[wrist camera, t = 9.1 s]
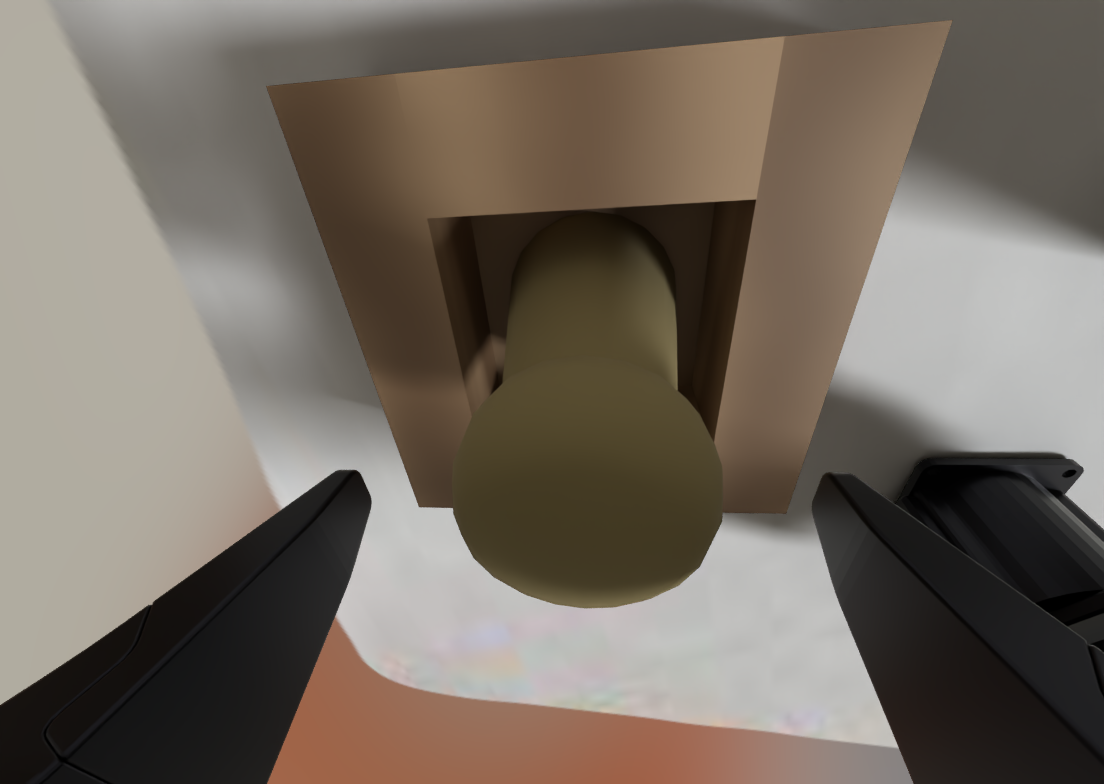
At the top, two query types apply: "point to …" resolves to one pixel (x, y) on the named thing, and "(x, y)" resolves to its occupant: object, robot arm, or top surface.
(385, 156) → the well block
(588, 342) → the olive tall rounded piece
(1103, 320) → the top surface
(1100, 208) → the top surface
